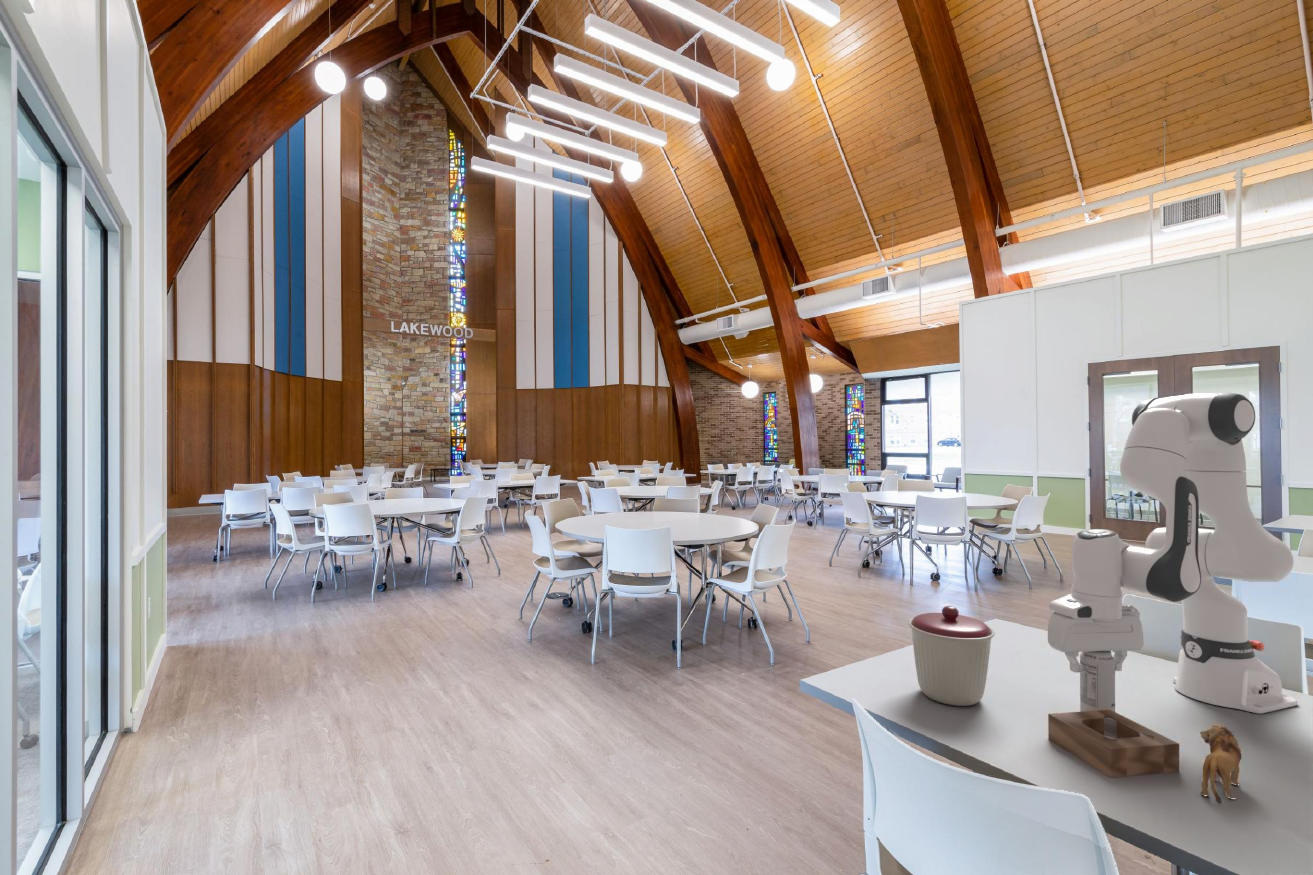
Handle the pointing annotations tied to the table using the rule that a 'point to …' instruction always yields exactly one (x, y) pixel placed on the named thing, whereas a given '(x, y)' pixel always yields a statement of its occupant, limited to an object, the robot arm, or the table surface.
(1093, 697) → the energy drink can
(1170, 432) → the robot arm
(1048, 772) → the table surface
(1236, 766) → the lion figurine
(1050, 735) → the block
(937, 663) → the canister
